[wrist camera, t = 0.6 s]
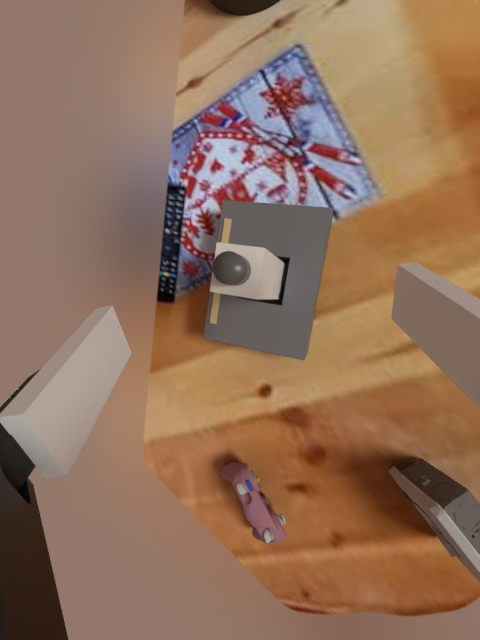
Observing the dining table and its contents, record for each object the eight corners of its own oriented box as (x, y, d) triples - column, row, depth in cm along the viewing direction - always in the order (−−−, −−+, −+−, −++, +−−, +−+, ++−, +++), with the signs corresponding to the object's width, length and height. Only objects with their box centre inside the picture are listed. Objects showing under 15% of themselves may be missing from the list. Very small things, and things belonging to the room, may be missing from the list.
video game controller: (283, 513, 39) (298, 544, 32) (254, 534, 39) (264, 570, 32) (245, 447, 40) (252, 463, 33) (216, 467, 40) (218, 487, 33)
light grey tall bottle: (255, 261, 36) (206, 237, 22) (288, 266, 35) (258, 243, 21) (250, 294, 36) (199, 290, 22) (282, 299, 35) (249, 299, 21)
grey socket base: (234, 210, 37) (222, 199, 33) (332, 218, 34) (332, 207, 30) (215, 334, 39) (202, 338, 35) (307, 353, 35) (304, 360, 31)
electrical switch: (384, 466, 34) (413, 521, 25) (424, 442, 33) (469, 490, 24) (440, 538, 33) (492, 624, 23) (483, 515, 32) (554, 595, 23)
